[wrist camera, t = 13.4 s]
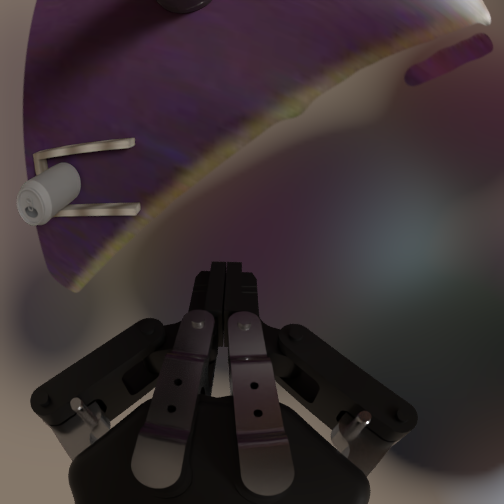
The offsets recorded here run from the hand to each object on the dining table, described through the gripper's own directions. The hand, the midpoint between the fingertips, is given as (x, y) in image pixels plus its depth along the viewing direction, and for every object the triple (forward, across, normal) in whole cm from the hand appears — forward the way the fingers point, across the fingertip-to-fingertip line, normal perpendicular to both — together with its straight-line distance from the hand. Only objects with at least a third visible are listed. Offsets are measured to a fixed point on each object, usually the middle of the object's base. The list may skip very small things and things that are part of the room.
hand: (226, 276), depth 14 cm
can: (+31, +31, +4) cm, 44 cm away
